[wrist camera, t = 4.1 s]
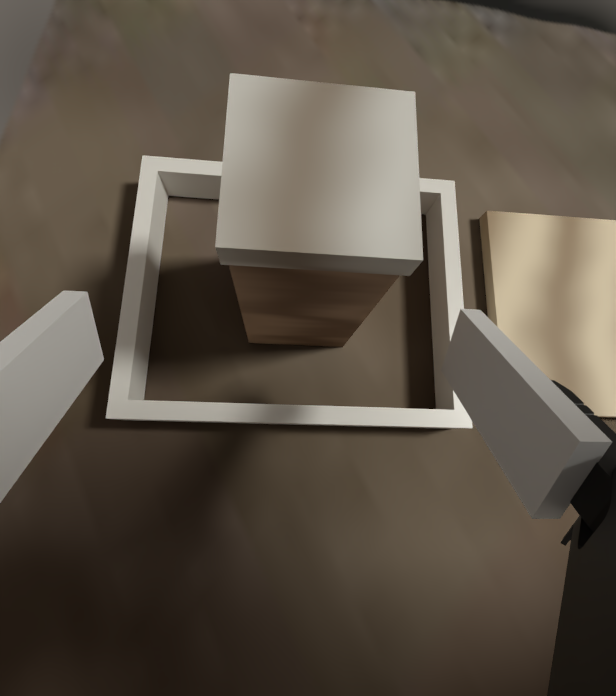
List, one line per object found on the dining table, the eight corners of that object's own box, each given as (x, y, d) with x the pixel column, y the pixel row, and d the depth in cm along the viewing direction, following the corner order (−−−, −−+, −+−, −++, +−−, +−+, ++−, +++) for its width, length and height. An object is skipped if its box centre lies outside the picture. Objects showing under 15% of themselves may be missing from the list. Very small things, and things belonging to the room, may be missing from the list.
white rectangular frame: (438, 203, 28) (454, 180, 25) (452, 428, 24) (472, 428, 22) (154, 181, 26) (142, 155, 23) (123, 420, 22) (105, 418, 20)
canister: (345, 258, 26) (414, 92, 13) (345, 350, 24) (423, 260, 12) (251, 252, 25) (230, 73, 13) (245, 345, 24) (215, 247, 11)
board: (607, 227, 28) (619, 220, 27) (640, 418, 25) (654, 417, 24) (479, 218, 28) (486, 210, 27) (496, 413, 24) (505, 413, 23)
